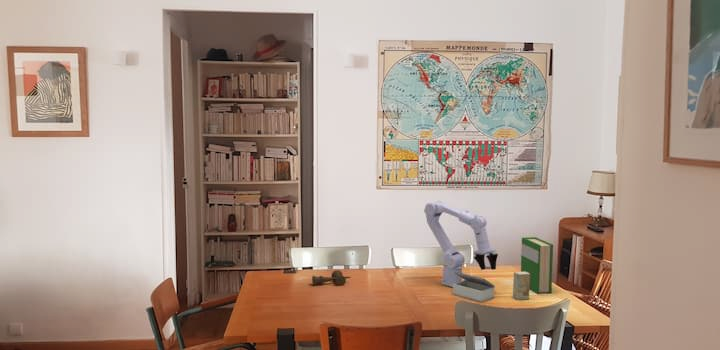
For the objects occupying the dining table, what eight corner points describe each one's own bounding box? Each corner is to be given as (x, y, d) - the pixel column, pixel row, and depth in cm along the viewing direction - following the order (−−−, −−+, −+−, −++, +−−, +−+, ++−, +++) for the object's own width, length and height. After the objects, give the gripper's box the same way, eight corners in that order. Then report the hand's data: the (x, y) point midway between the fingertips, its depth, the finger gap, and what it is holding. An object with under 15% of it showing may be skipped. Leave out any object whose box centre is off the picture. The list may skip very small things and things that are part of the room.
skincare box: (517, 300, 249) (518, 274, 248) (512, 297, 253) (513, 271, 252) (529, 299, 251) (530, 273, 250) (524, 296, 255) (525, 271, 254)
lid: (454, 273, 258) (454, 271, 258) (465, 280, 264) (465, 278, 264) (483, 280, 246) (484, 278, 246) (494, 287, 252) (494, 285, 252)
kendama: (310, 283, 277) (348, 280, 282) (314, 289, 268) (353, 285, 273) (310, 272, 277) (348, 268, 282) (313, 277, 267) (352, 274, 272)
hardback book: (551, 293, 260) (553, 244, 258) (537, 294, 258) (538, 245, 256) (534, 283, 277) (535, 237, 275) (520, 283, 276) (521, 237, 274)
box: (452, 294, 258) (453, 284, 257) (465, 290, 264) (465, 280, 264) (481, 302, 246) (481, 291, 246) (493, 297, 253) (493, 287, 252)
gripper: (498, 239, 257) (505, 267, 256) (478, 240, 270) (484, 267, 269) (487, 242, 254) (494, 270, 253) (468, 243, 267) (474, 270, 265)
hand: (488, 269), depth 261 cm, fingers open, 7 cm apart
